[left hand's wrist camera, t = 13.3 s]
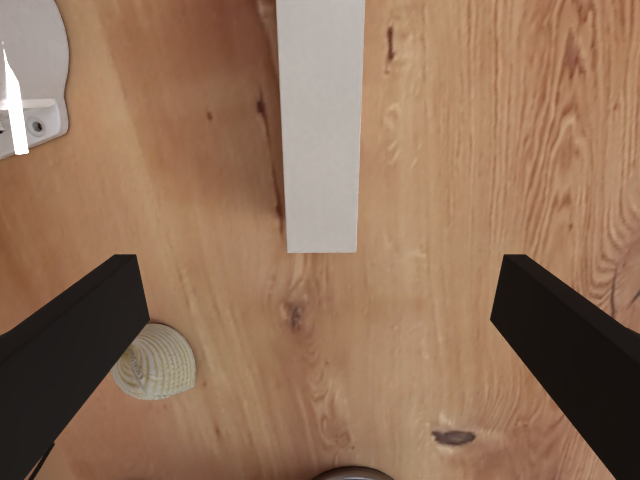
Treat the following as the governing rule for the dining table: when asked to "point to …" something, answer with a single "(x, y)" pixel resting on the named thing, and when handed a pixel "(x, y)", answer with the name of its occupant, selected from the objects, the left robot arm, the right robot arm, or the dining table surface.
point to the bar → (320, 121)
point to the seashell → (155, 364)
